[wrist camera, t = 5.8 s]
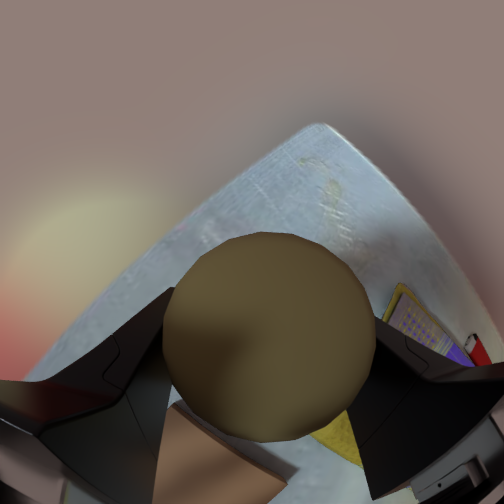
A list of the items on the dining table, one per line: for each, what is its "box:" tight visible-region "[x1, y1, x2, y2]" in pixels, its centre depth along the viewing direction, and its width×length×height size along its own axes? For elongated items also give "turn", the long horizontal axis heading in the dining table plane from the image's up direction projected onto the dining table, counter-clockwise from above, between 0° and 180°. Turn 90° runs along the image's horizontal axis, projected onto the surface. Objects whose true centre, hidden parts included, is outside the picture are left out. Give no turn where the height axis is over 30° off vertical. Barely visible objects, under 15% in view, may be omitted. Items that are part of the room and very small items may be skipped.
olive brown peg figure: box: [162, 232, 376, 443], centre depth 10 cm, size 6×6×11 cm
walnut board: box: [152, 403, 288, 504], centre depth 15 cm, size 12×12×2 cm
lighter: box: [464, 334, 492, 367], centre depth 24 cm, size 3×1×8 cm
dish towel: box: [309, 283, 475, 491], centre depth 20 cm, size 18×24×3 cm
